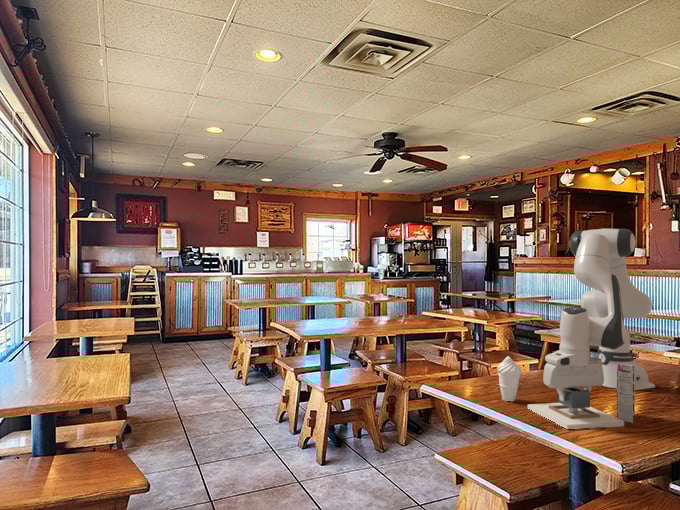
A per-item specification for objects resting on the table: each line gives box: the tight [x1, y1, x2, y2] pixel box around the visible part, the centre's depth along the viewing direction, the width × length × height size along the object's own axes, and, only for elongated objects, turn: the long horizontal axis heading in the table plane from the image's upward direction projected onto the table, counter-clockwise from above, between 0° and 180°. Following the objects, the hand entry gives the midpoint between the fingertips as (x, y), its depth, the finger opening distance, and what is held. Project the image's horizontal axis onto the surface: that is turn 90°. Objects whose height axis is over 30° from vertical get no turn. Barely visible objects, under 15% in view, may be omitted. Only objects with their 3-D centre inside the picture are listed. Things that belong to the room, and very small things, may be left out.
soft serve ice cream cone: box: [496, 355, 522, 403], centre depth 170 cm, size 8×8×16 cm
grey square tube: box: [557, 387, 591, 409], centre depth 153 cm, size 7×7×5 cm
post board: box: [527, 402, 625, 430], centre depth 153 cm, size 20×20×8 cm
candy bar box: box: [616, 364, 636, 424], centre depth 153 cm, size 11×5×16 cm, turn 148°
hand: (573, 399), depth 153 cm, fingers closed on grey square tube, 6 cm apart
